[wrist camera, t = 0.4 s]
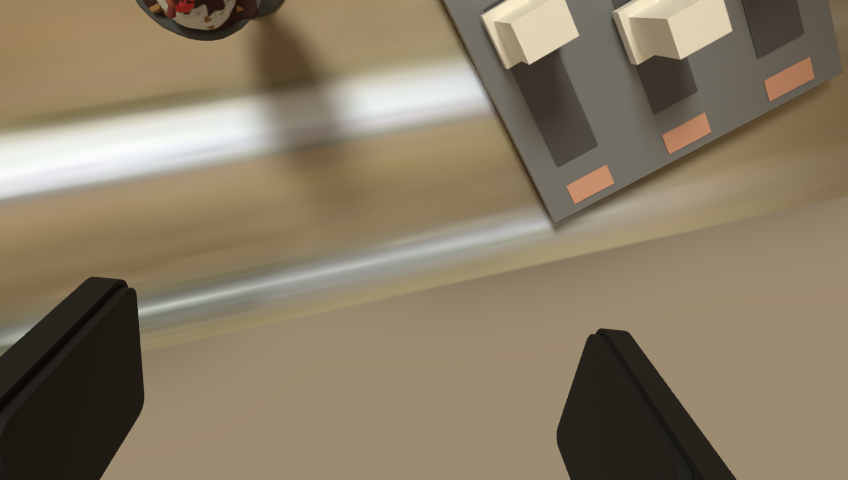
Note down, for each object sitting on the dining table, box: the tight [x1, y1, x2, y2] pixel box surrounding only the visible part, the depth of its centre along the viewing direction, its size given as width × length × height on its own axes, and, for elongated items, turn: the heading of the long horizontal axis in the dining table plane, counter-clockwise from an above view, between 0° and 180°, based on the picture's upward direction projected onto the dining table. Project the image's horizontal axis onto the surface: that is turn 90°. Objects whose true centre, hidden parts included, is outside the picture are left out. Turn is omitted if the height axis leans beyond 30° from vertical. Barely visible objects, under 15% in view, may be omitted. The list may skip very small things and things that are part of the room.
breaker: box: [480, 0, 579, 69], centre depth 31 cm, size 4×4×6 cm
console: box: [442, 0, 843, 223], centre depth 35 cm, size 22×20×2 cm
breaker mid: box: [612, 0, 732, 65], centre depth 31 cm, size 4×4×6 cm
